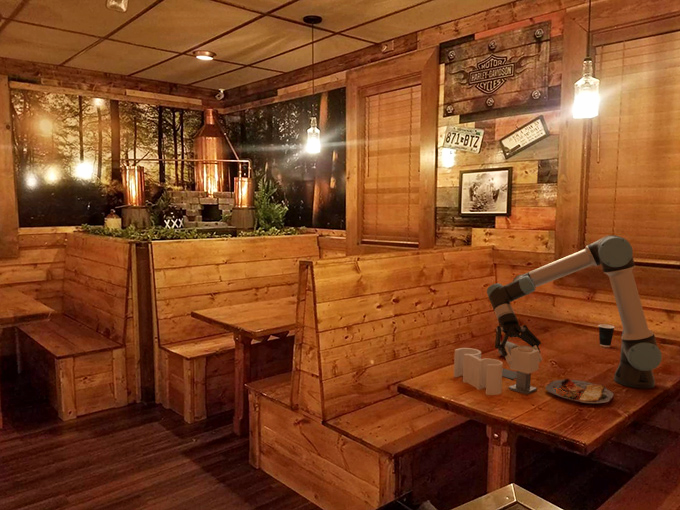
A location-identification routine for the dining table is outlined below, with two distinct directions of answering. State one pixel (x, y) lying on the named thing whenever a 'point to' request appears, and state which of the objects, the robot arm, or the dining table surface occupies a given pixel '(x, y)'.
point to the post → (523, 383)
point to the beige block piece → (524, 359)
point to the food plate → (589, 390)
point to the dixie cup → (605, 335)
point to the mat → (509, 374)
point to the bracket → (478, 370)
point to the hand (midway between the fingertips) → (525, 362)
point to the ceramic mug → (509, 346)
